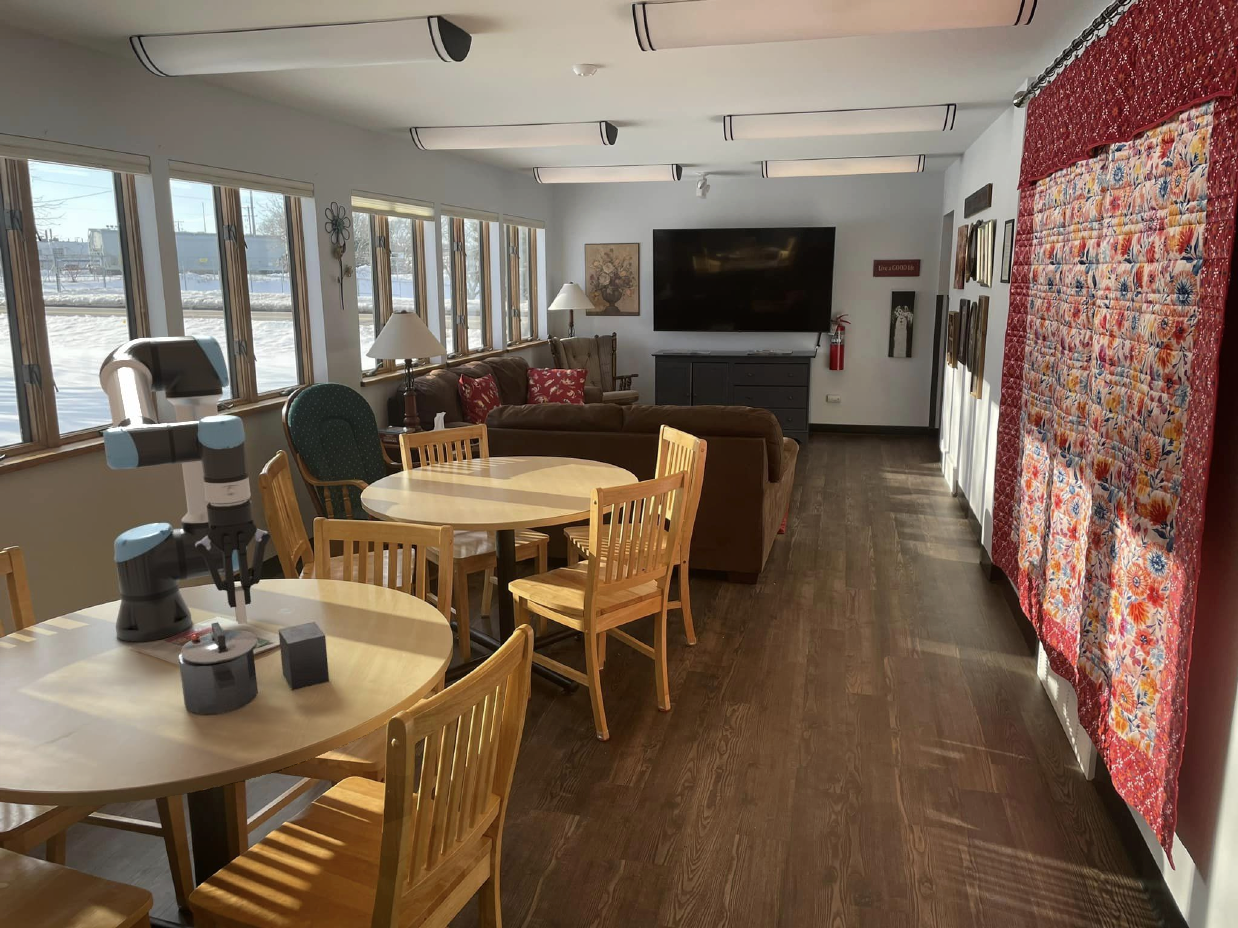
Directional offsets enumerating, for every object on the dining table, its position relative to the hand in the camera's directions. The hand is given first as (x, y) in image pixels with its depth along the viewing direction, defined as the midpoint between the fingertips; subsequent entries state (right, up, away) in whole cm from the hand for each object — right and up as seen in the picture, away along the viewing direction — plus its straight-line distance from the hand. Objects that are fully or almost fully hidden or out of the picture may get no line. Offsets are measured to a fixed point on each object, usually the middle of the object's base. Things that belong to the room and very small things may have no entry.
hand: (241, 621), depth 168 cm
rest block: (+9, -13, +8) cm, 18 cm away
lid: (-3, -5, -2) cm, 6 cm away
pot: (-4, -15, 0) cm, 15 cm away
